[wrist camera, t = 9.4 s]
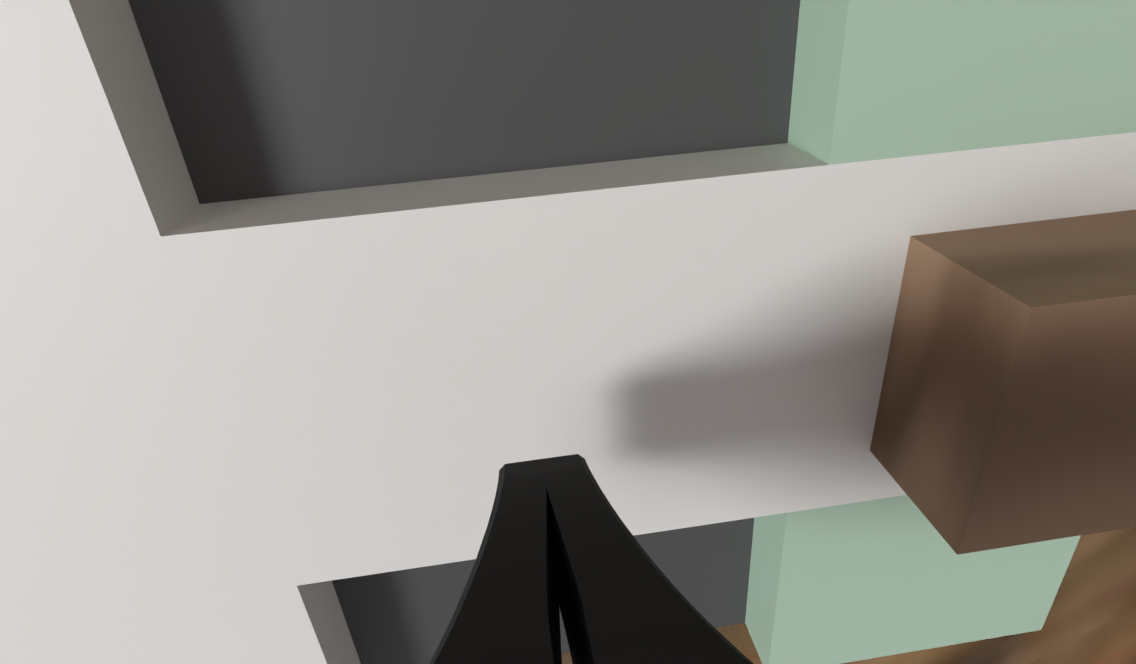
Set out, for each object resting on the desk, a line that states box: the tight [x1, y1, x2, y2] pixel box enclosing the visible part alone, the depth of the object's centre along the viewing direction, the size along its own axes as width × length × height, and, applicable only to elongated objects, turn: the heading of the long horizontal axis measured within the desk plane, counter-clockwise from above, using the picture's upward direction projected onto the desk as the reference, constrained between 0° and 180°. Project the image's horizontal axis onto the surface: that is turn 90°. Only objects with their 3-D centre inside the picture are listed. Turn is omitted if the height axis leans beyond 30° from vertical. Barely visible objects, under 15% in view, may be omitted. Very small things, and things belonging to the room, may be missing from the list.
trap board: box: [0, 0, 1136, 664], centre depth 14 cm, size 20×26×2 cm
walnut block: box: [870, 210, 1136, 555], centre depth 12 cm, size 5×5×3 cm
